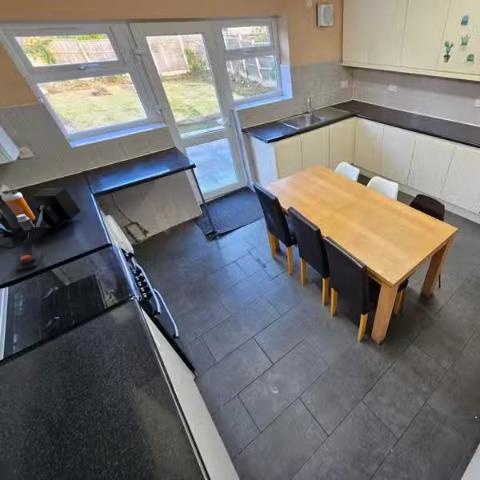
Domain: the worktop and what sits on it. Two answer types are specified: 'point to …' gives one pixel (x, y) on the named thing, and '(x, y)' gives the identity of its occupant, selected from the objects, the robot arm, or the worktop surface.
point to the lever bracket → (50, 217)
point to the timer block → (30, 262)
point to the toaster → (58, 202)
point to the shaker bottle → (17, 203)
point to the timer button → (25, 258)
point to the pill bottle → (25, 222)
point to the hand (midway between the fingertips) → (10, 229)
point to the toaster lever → (39, 220)
